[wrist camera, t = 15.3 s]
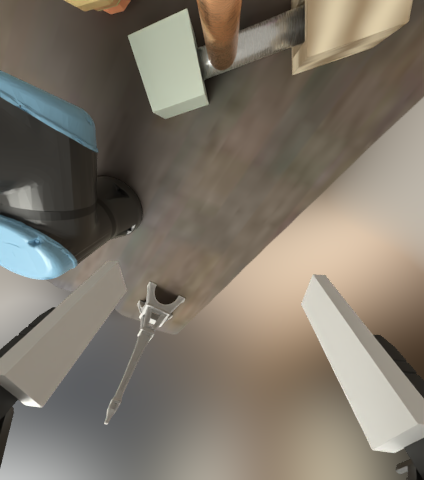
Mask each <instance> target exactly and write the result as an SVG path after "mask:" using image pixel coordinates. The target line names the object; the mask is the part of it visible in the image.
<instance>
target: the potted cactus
mask: <svg viewBox="0 0 424 480" xmlns="http://www.w3.org/2000/svg"><path fill="white" fill-rule="evenodd" d="M64 1H66V2H68V3H70V4H72V5H73V6H75V7H77V8H79V9H81V10H83V11H89V10H92V9H94V10H97V11H101V10H104V11H105V12H107V13H109V14H115V13H118V12H122V11H124V10H125V9H126V7H127V6H128V4H129V2H130V1H131V0H64Z"/></svg>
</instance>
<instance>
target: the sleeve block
mask: <svg viewBox="0 0 424 480" xmlns="http://www.w3.org/2000/svg"><path fill="white" fill-rule="evenodd" d="M412 2H413V0H291V10H292V9H294V8H296V7H299V6H301V5H304V4H305V42H304V43H302V44H300V45H297V46H294V47H292V75H295V74H298V73H301V72H303V71H306V70H309V69H312V68H315V67H318V66H321V65H324V64H327V63H330V62H333V61H336V60H339V59H342V58H345V57H348V56H351V55H353V54H356V53H359V52H362V51H365V50H368V49H371V48H373V47H374V46H376V45H377V44H378V43H380V42H381V41H383V40H384V39H385V38H387V37H388V36H390V35H391V34H392V33H394V32H395V31H397V30H398V29H399V28H401V27H402V26H403V25H405V24H406V23H408V22H409V17H410V12H411V7H412Z"/></svg>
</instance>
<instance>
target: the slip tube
mask: <svg viewBox="0 0 424 480" xmlns="http://www.w3.org/2000/svg"><path fill="white" fill-rule="evenodd" d="M241 4H242V0H197V5H198V10H199V14H200V19H201V24H202V29H203V34H204V39H205V44H206V45H204V46H201V47H199V48H196V51H197V56H198V61H199V66H200V71H201V76H202V80H205V79H208V78H210V77H213V76H216V75H219V74H221V73H224V72H227V71H229V70H232V69H235V68H237V67H240V66H243V65H246V64H248V63H251V62H254V61H256V60H259V59H262V58H264V57H267V56H270V55H273V54H275V53H278V52H281V51H283V50H286V49H289V48H292V47H294V46H297V45H300V44H302V43H304V42H305V4H304V5H301V6H299V7H296V8H294V9H292V10H289V11H287V12H284V13H282V14H279V15H277V16H274V17H272V18H270V19H267V20H265V21H262V22H260V23H257V24H255V25H253V26H250V27H248V28H245V29H243V30H240V31H239V25H240V15H241Z"/></svg>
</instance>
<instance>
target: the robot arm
mask: <svg viewBox="0 0 424 480" xmlns="http://www.w3.org/2000/svg"><path fill="white" fill-rule="evenodd" d="M97 153H98V149H97V146H96V132H95V124H94V122H93V120H92V118H91V117H90V115H89V114H88V113H87V112H86V111H84V110H83V109H81V108H80V107H78V106H76V105H73V104H71V103H69V102H67V101H65V100H63V99H61V98H58V97H56V96H54V95H52V94H50V93H48V92H46V91H44V90H41V89H39V88H37V87H35V86H33V85H31V84H29V83H26V82H24V81H22V80H20V79H18V78H16V77H14V76H11V75H9V74H7V73H5V72H3V71H1V70H0V265H1V266H3V267H4V268H6V269H8V270H10V271H12V272H14V273H17V274H19V275H22V276H25V277H28V278H33V279H40V280H47V279H53V278H56V277H58V276H60V275H62V274H63V273H65V272H67V271H68V270H70V269H72V268H75V267H76V266H77V264H79V263H80V262H81V261H82V260H84V259H85V258H86V257H88V256H89V255H90V254H92V253H93V252H94V251H95V250H97V249H98V248H99V247H101V246H102V245H103V244H105V243H106V242H107V241H109V240H110V239H114V238H118V237H122V236H126V235H128V234H130V233H131V232H133V231H134V230H135V229H136V228H137V227H138V226H139V224H140V222H141V219H142V208H141V204H140V201H139V199H138V197H137V196H136V194H135V193H134V192H133V190H132V189H131V188H130V187H129V186H127V185H126V184H125V183H123V182H122V181H120V180H118V179H116V178H113V177H108V176H100V177H97ZM126 291H127V289H126V285H125V282H124V279H123V276H122V272H121V269H120V266H119V263H118V262H117V261H107V262H106V263H105V264H104V265H103V266H101V267H100V268H99V269H98V270H97V271H96V272H95V273H94V274H93V275H92V276H90V277H89V278H88V279H87V280H86V281H85V282H84V283H83V284H82V285H81V286H79V287H78V288H77V289H76V290H75V291H74V292H73V293H72V294H71V295H70V296H68V298H66V299H65V300H64V301H63V302H62V303H61V304H60V305H58V306H57V307H56V308H55V307H53V308H51V309H49V310H48V311H46V312H45V313H43V314H41V315H40V316H39V317H37V318H36V319H35V320H34V321H33V322H32V323H31V324H29V326H28V327H26V328H25V329H24V330H22V331H21V332H20V333H19V335H18V336H16V337H14V338H13V339H12V340H11V341H10V342H9V343H7V344H6V345H5V346H4V347H3V348H2V349H1V350H0V467H1V463H2V459H3V455H4V450H5V446H6V442H7V438H8V434H9V430H10V426H11V422H12V418H13V413H14V411H13V410H14V408H13V407H12V406H13V405H14V404H15V402H16V401H17V400H19V401H21V402H22V403H23V404H24V405H27V406H35V407H43V406H44V404H45V403H46V402H47V400H48V399H49V398H50V396H51V395H52V394H53V392H54V391H55V389H56V388H57V387H58V385H59V384H60V382H61V381H62V380H63V378H64V377H65V376H66V374H67V373H68V372H69V370H70V369H71V367H72V366H73V364H74V363H75V362H76V360H77V359H78V357H79V356H80V355H81V354H82V352H83V351H84V349H85V348H86V347H87V345H88V344H89V343H90V341H91V340H92V338H93V337H94V336H95V334H96V333H97V331H98V330H99V329H100V327H101V326H102V325H103V323H104V322H105V320H106V319H107V318H108V316H109V315H110V314H111V312H112V311H113V309H114V308H115V307H116V305H117V304H118V303H119V301H120V300H121V298H122V297H123V296H124V294H125V293H126ZM301 305H302V307H303V309H304V311H305V313H306V315H307V317H308V319H309V321H310V323H311V325H312V327H313V329H314V331H315V333H316V335H317V337H318V340H319V342H320V344H321V346H322V347H323V350H324V352H325V354H326V356H327V358H328V360H329V362H330V364H331V366H332V368H333V370H334V372H335V374H336V377H337V379H338V381H339V383H340V385H341V387H342V389H343V391H344V393H345V395H346V397H347V399H348V401H349V403H350V405H351V407H352V409H353V411H354V413H355V415H356V418H357V420H358V422H359V424H360V425H361V428H362V429H363V432H364V434H365V436H366V438H367V440H368V442H369V444H370V446H371V448H372V450H376V451H384V452H392V453H395V452H397V451H399V450H401V449H403V448H404V449H405V450H406V452H407V454H408V455H409V457H410V459H409V460H406V461H404V462H402V463H399V464H398V465H397V467H396V471H397V472H398V473H399V474H401V473H404V472H407V471H408V477H407V478H406V480H424V381H423V379H422V378H421V377H420V376H419V375H417V374H416V371H415V370H414V369H413V368H412V367H411V365H410V364H409V363H407V362H406V360H405V359H404V357H403V356H402V355H401V354H400V353H399V351H397V349H396V348H395V347H394V346H393V345H391V344H390V343H389V342H388V341H387V340H386V339H384V338H383V337H382V336H380V335H373V334H372V333H371V332H370V331H369V329H368V328H367V327H366V326H365V324H364V323H363V322H362V321H361V319H360V318H359V317H358V316H357V314H356V313H355V312H354V311H353V309H352V308H351V307H350V306H349V304H348V303H347V302H346V301H345V299H344V298H343V297H342V296H341V294H340V293H339V292H338V291H337V289H336V288H335V287H334V286H333V284H332V283H331V282H330V281H329V279H328V278H327V277H326V276H325V275H313V276H312V278H311V281H310V283H309V286H308V288H307V291H306V293H305V296H304V298H303V301H302V303H301Z"/></svg>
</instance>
